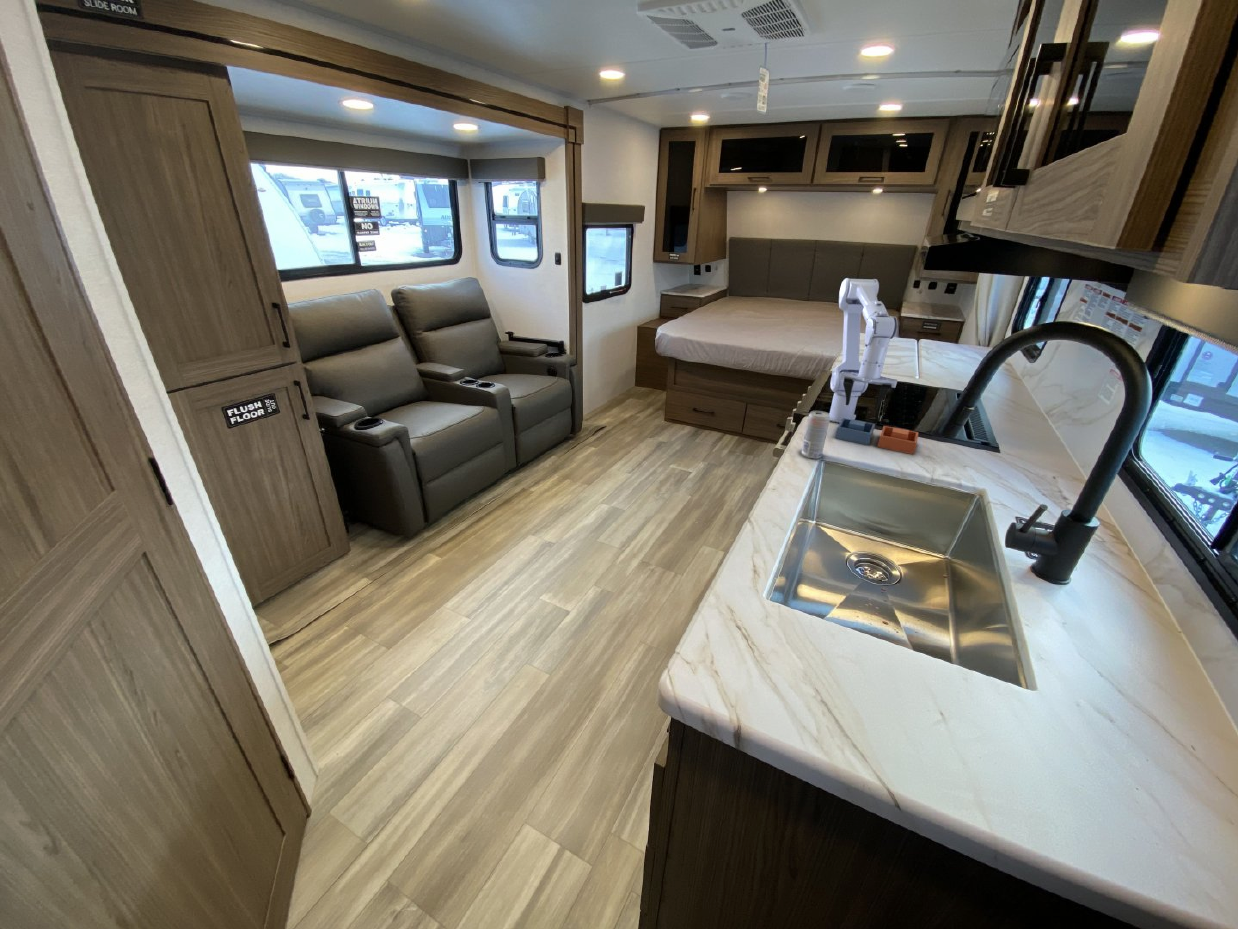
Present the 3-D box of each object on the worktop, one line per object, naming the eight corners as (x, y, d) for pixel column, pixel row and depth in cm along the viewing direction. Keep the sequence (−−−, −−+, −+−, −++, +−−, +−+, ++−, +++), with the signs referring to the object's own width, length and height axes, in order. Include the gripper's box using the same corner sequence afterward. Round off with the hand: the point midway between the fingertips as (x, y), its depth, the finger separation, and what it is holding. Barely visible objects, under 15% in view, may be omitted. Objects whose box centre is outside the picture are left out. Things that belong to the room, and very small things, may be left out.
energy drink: (818, 451, 138) (827, 410, 133) (823, 459, 133) (833, 418, 128) (799, 450, 138) (807, 409, 133) (803, 458, 134) (812, 416, 128)
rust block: (890, 439, 145) (893, 427, 143) (905, 442, 143) (909, 430, 142) (888, 444, 142) (892, 431, 140) (904, 447, 140) (908, 434, 138)
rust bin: (880, 436, 149) (883, 425, 147) (915, 443, 144) (918, 432, 143) (877, 446, 142) (880, 435, 140) (913, 454, 137) (916, 442, 136)
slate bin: (840, 428, 154) (842, 417, 152) (872, 434, 150) (875, 424, 148) (835, 438, 147) (837, 427, 145) (868, 445, 143) (871, 433, 141)
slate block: (848, 431, 150) (851, 419, 149) (862, 434, 149) (865, 421, 147) (846, 435, 147) (849, 423, 146) (860, 438, 146) (863, 425, 144)
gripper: (843, 360, 138) (832, 405, 144) (900, 368, 132) (887, 415, 138) (847, 355, 144) (837, 399, 150) (902, 362, 137) (889, 408, 143)
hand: (861, 406), depth 144 cm, fingers open, 7 cm apart
